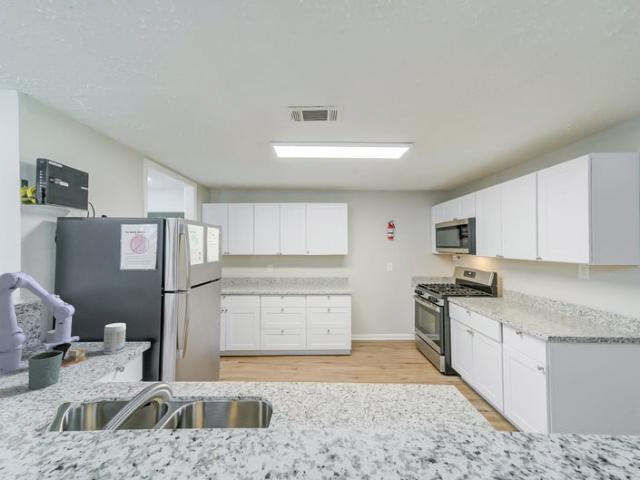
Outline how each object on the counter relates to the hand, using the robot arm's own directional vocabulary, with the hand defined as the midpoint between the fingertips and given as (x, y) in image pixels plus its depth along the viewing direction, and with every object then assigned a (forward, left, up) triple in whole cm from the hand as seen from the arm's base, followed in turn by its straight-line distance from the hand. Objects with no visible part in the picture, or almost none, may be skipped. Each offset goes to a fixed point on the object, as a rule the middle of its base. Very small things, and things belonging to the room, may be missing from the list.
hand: (60, 360), depth 130 cm
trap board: (+4, 0, -2) cm, 5 cm away
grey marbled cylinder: (+11, +16, -3) cm, 19 cm away
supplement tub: (+21, -8, -3) cm, 22 cm away
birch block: (+8, 0, -2) cm, 8 cm away
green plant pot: (-17, -15, -3) cm, 23 cm away
